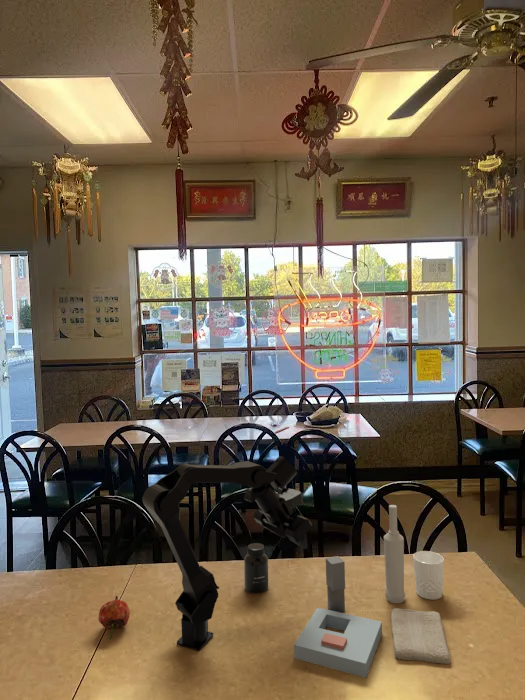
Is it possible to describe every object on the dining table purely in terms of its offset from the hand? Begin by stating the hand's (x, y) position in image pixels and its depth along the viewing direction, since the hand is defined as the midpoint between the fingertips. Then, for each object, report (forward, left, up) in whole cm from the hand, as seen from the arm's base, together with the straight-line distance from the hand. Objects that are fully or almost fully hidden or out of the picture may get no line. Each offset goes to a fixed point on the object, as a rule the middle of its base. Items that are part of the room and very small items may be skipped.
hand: (295, 541), depth 133 cm
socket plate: (-16, -17, -15) cm, 28 cm away
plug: (-2, -12, -15) cm, 19 cm away
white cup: (+15, -33, -15) cm, 39 cm away
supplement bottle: (0, +12, -15) cm, 19 cm away
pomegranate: (-31, +36, -15) cm, 50 cm away
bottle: (+9, -25, -15) cm, 30 cm away
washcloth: (-6, -33, -16) cm, 37 cm away
